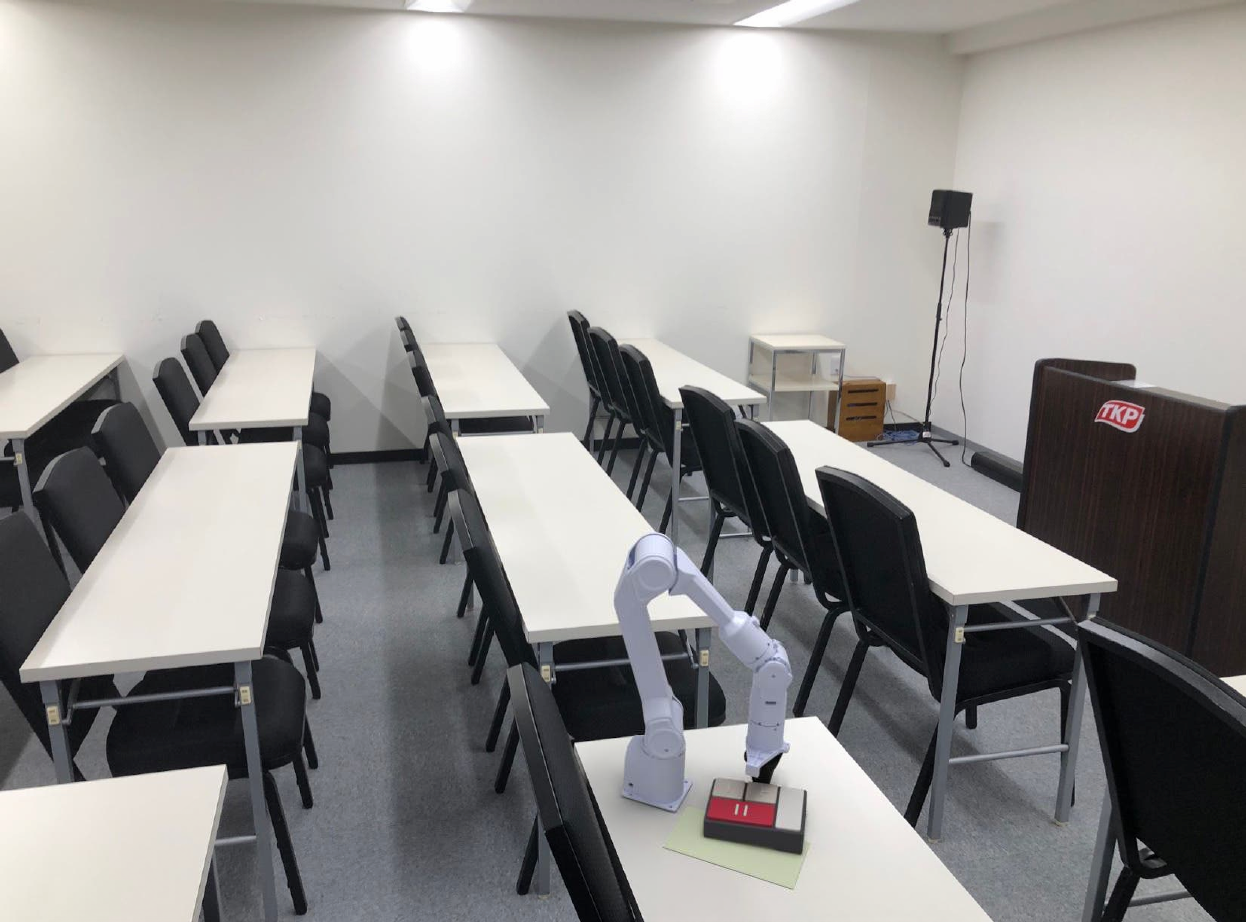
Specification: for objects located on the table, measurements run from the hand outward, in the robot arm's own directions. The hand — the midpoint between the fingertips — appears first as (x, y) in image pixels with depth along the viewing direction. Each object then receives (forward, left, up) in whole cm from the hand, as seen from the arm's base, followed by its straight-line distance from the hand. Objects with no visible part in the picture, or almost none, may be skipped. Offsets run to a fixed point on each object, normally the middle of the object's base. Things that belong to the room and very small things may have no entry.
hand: (760, 789), depth 154 cm
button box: (+1, -7, -2) cm, 7 cm away
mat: (0, -13, -1) cm, 13 cm away
